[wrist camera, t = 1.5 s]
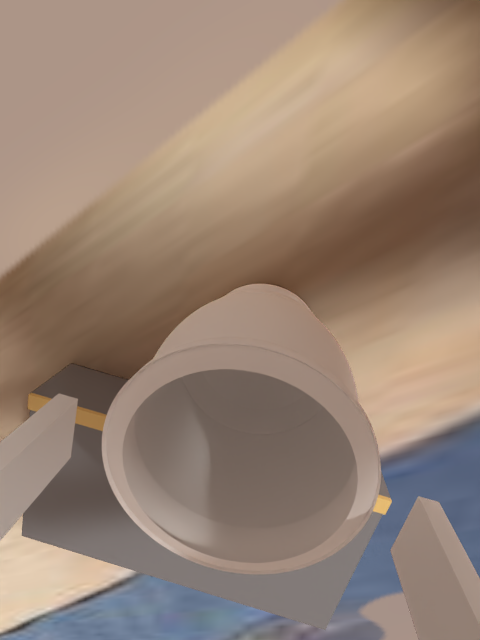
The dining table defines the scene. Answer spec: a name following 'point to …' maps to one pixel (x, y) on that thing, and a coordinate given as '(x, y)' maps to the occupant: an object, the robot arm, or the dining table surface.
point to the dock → (144, 552)
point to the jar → (245, 438)
